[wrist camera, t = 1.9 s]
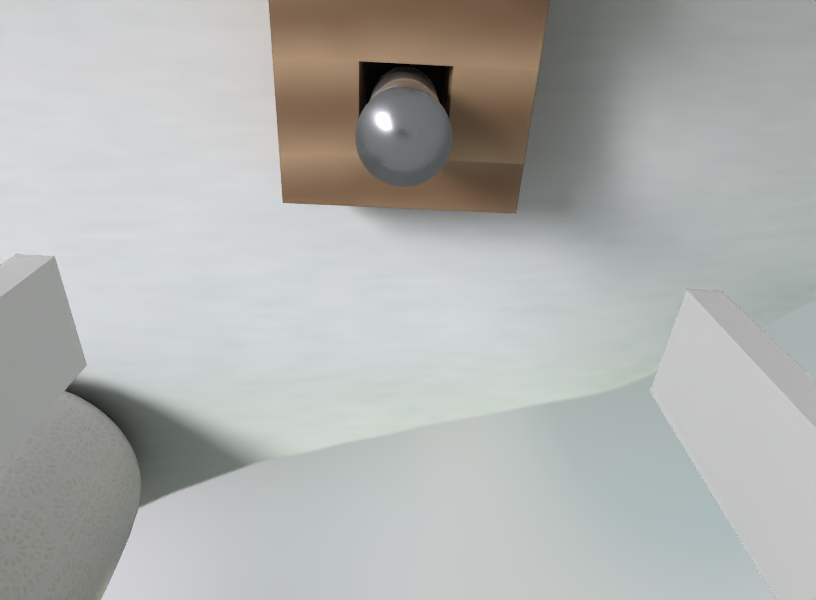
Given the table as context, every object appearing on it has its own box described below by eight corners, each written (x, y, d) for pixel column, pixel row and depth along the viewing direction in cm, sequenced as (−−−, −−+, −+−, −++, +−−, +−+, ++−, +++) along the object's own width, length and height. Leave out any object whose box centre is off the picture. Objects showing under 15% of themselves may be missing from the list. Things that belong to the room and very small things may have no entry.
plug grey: (368, 61, 31) (355, 85, 23) (444, 64, 31) (456, 90, 23) (367, 138, 33) (355, 184, 25) (438, 141, 33) (448, 188, 26)
